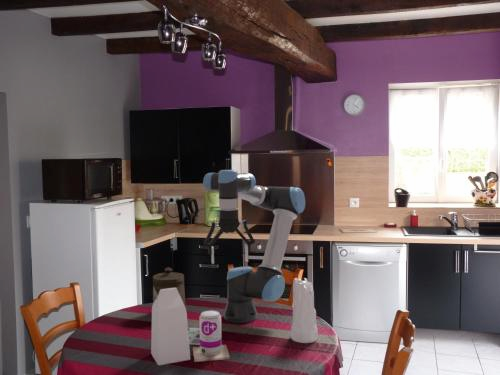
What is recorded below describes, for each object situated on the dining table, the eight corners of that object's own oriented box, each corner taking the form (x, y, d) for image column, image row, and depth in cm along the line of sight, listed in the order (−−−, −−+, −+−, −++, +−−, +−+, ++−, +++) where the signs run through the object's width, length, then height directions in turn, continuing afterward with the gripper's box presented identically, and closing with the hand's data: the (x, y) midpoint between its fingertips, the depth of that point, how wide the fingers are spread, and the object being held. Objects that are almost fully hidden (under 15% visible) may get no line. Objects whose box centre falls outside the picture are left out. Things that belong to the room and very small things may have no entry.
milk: (158, 365, 189) (156, 294, 187) (151, 353, 200) (149, 287, 198) (190, 359, 194) (188, 290, 192) (181, 348, 204) (180, 283, 202)
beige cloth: (226, 346, 206) (226, 344, 205) (229, 359, 194) (229, 356, 194) (192, 349, 203) (192, 347, 203) (194, 361, 192) (194, 359, 192)
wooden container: (159, 308, 256) (158, 263, 254) (188, 309, 254) (187, 264, 252) (149, 318, 241) (147, 271, 239) (180, 319, 239) (179, 271, 237)
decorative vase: (320, 334, 217) (319, 275, 215) (314, 344, 207) (314, 282, 205) (294, 332, 220) (294, 273, 218) (288, 341, 210) (287, 280, 208)
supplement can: (218, 357, 194) (217, 317, 192) (197, 355, 195) (196, 316, 194) (224, 348, 202) (223, 310, 200) (203, 347, 203) (202, 309, 202)
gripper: (258, 206, 212) (258, 258, 214) (196, 209, 208) (197, 261, 210) (261, 209, 205) (262, 262, 206) (197, 211, 200) (199, 266, 202)
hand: (229, 262), depth 208 cm, fingers open, 13 cm apart
